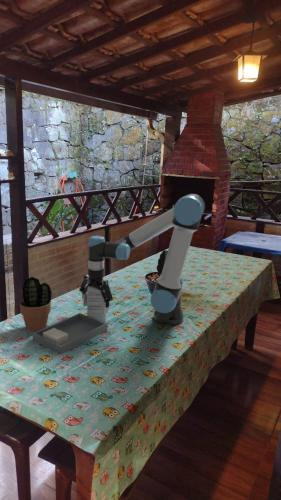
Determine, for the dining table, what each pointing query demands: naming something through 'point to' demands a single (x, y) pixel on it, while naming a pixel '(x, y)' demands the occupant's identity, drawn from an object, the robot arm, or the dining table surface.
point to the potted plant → (35, 304)
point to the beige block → (56, 336)
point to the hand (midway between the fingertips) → (95, 309)
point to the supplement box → (95, 304)
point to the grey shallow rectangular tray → (72, 332)
